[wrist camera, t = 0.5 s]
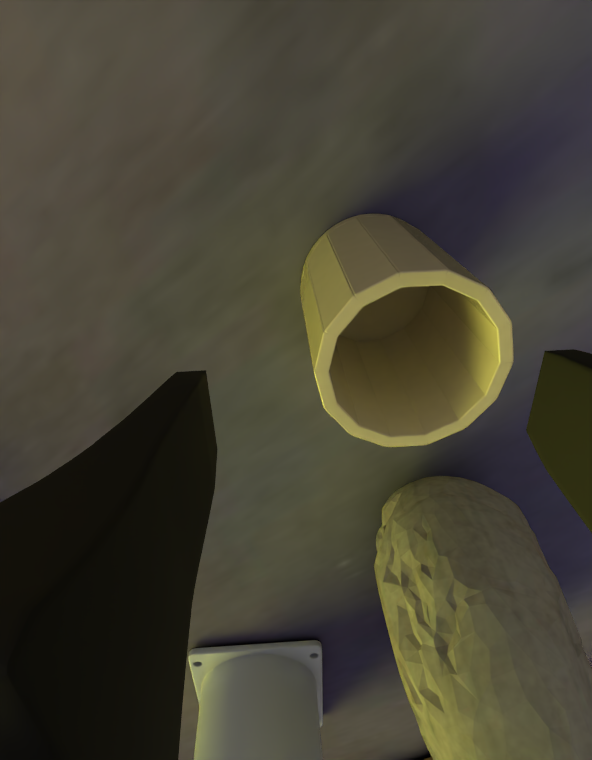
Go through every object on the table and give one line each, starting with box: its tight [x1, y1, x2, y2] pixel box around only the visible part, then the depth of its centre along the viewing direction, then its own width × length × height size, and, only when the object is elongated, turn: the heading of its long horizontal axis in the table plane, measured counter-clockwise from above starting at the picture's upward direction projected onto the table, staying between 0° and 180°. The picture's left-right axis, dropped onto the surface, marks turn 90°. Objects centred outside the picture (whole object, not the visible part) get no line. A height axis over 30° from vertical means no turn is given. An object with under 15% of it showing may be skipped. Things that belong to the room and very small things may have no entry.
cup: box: [300, 214, 514, 447], centre depth 16 cm, size 5×5×7 cm
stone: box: [374, 476, 592, 760], centre depth 21 cm, size 19×7×15 cm, turn 18°
